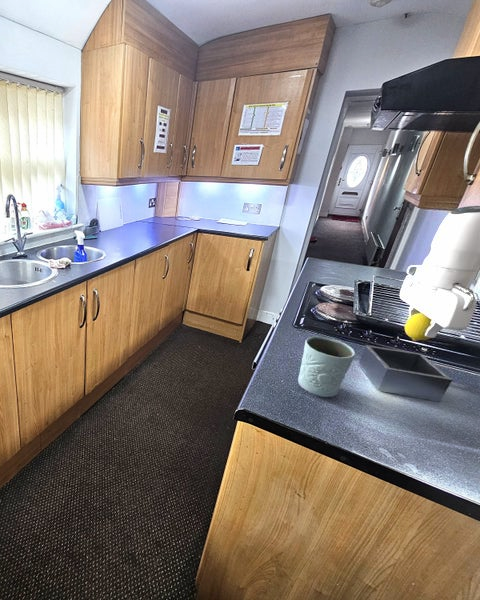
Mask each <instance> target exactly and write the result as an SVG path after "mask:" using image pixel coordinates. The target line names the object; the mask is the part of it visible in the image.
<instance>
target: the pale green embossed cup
mask: <svg viewBox="0 0 480 600" xmlns="http://www.w3.org/2000/svg"><path fill="white" fill-rule="evenodd" d="M355 357H356V351H355V349H354V348H353V347H351V346H350V345H349V344H347V343H345V342H343V341H340V340H337V339H334V338H330V337H326V336H309V337H308V338H306V339H305V342H304V348H303V354H302V358H301V365H300V369H299V374H298V378H297V383H298V385H299V386H300V387H301V388H302V389H303V390H305V391H307V392H308V393H310V394H312V395H315V396H318V397H323V398H333V397H335V396H336V395H337V394H338V393H339V391H340V389H341V386H342V382H343V381H344V379H345V377H346V374H347V373H348V371H349V369H350V367H351V365H352V363H353V361H354V358H355Z"/></svg>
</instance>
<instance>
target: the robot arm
mask: <svg viewBox="0 0 480 600" xmlns="http://www.w3.org/2000/svg"><path fill="white" fill-rule="evenodd" d="M479 270H480V205H468V206H462V207H458V208H455V209H453V210H452V211H450V212H449V213H448V214H447V215H446V216H445V218H444V219H443V220H442V221H441V224H440V225H439V227H438V229H437V231H436V233H435V235H434V237H433V239H432V242H431V244H430V252H429V253H428V255H427V256H426V257H425V258H424V260H423V262H422V264H415V265H409V266H408V267H407V269H406V276H405V278H404V280H403V283H402V285H401V288H400V291H399V299H400V300H401V301H403V302H405V303H406V304H408V305H409V308H408V318H407V320H408V319H409V318H410V317H411V316H412V315H414V314H417V313H422V314H424V315H425V316H427V317H428V318H430V319H431V324H432V325H431V326H430V327H429V328H425V329H424V332H423V334H424V335H425V336H426V337H430V338H429V339H431V338H432V339H434V338H436V337H437V335H438V333H439V332H440V331H442V330H443V329H447V330H452V331H453V330H455V331H464V330H465V329H467V328H468V327H469V325H470V323H471V321H472V318H473V315H474V314H475V310H476V307H477V300H476V297H475V294H474V290H473V289H471V286H472V285H473V282H474V281H475V278H476V277H477V275H478V274H479Z"/></svg>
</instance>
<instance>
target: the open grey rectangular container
mask: <svg viewBox="0 0 480 600" xmlns="http://www.w3.org/2000/svg"><path fill="white" fill-rule="evenodd" d="M357 363H358V364H357V366H358V367H359V368H360V369H361V371H362V372H363V374H364V375H365V376H366V378H367V379H368V380H369V381H370V383H372V385H373V386H374V388H375V389H376V390H377V391H379V392H383V393H384V392H385V393H391V394H394V395H401V396H406V397H411V398H417V399H422V400H427V401H432V402H438V403H440V402H442V400H443V397H444V395H445V394H446V392H447V390H448V388H449V386H450V384H451V383H452V381H453V379H452V378H451V377H450V376H448V375H447V374H446V373H445V372H444V371H442V369H440V368H439V367H438V366H437V365H435V364H434V363H433V362H432V361H431V360H430V359H428V358H427V357H426V356H425V355H424V354H422V353H420V352H413V351H406V350H401V349H394V348H388V347H382V346H381V347H380V346H375V345H374V346H373V345H367V344H365V346H364V349H363V351H362V354H361V356H360V358H359V361H358V362H357Z"/></svg>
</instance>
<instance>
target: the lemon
mask: <svg viewBox="0 0 480 600" xmlns="http://www.w3.org/2000/svg"><path fill="white" fill-rule="evenodd" d="M408 318H409V317H408ZM408 318H407V321H406V322H405V323H404V324H405V325H404V332H405V334H406V335H407V336H408V337H409V338H411V339H412V341H413V342H418V341H425V340H429V339H431V338H430V337H426V336H425V335H424V334H423V332H424V329H425V328H429V327H430V326H431V325H432V324H431V319H430V318H428V317H427V316H425V315H424V314H422V313H421V312H420V313H417V314H414V315H412V316H411V317H410V318H409V319H408Z"/></svg>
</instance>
